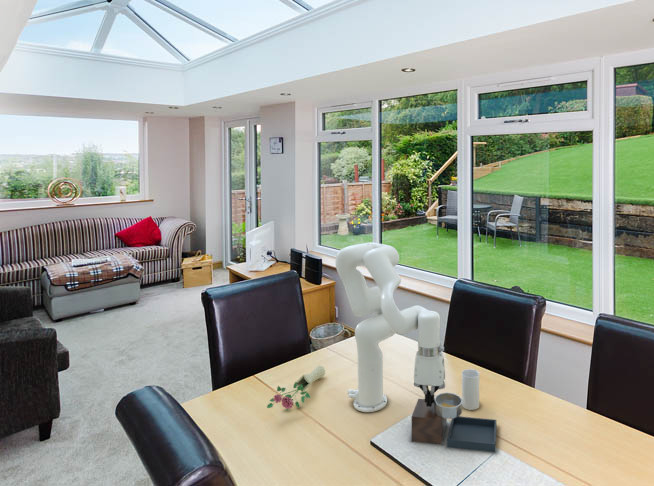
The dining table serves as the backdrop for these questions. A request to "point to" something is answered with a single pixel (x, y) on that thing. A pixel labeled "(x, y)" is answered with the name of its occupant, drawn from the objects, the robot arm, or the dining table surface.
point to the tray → (472, 434)
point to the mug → (470, 389)
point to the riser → (427, 424)
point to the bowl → (450, 400)
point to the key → (447, 405)
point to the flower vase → (298, 388)
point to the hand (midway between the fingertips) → (429, 404)
